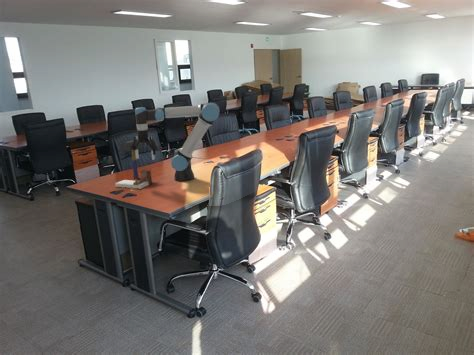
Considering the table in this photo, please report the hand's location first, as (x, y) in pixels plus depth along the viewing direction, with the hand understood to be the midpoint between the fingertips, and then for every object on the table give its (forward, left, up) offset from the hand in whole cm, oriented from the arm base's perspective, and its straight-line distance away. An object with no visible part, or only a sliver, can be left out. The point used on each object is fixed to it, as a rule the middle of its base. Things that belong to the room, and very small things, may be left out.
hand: (145, 159), depth 286 cm
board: (+5, -11, -20) cm, 23 cm away
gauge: (+2, -4, -20) cm, 20 cm away
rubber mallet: (-14, -21, -20) cm, 32 cm away
